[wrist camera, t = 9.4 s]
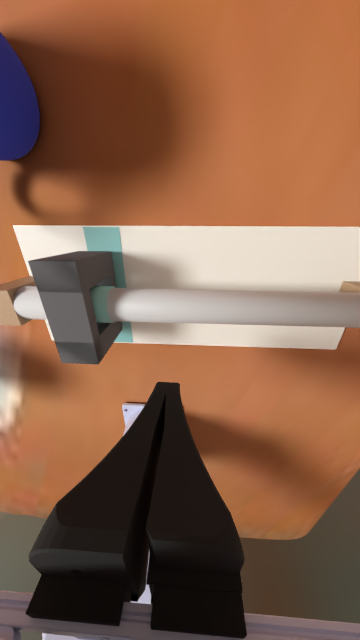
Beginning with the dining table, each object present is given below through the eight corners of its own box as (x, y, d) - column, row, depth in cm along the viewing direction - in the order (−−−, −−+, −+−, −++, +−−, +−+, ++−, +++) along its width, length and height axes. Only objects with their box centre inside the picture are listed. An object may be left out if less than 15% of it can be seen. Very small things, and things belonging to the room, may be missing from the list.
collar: (122, 329, 20) (98, 364, 15) (95, 328, 20) (61, 362, 15) (111, 251, 17) (75, 261, 12) (78, 250, 17) (27, 260, 12)
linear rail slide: (333, 347, 21) (375, 382, 16) (54, 338, 22) (16, 368, 18) (384, 227, 16) (470, 226, 11) (16, 225, 17) (-52, 224, 12)
